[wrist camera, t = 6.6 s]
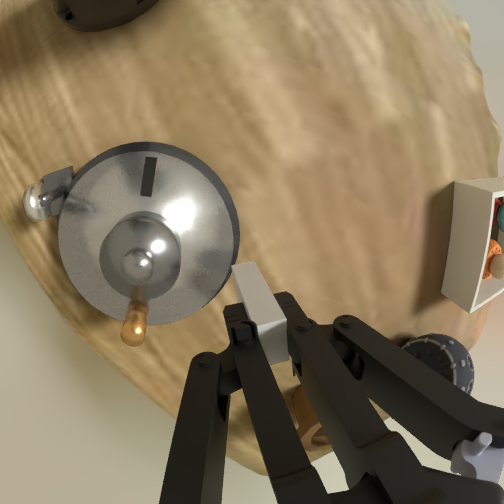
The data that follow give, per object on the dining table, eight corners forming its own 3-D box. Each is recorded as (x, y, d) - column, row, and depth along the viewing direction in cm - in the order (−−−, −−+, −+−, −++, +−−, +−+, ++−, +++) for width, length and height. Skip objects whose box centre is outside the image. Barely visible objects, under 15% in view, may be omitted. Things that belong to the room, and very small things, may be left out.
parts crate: (454, 180, 39) (492, 192, 31) (505, 176, 43) (534, 185, 34) (440, 292, 48) (469, 313, 40) (493, 265, 52) (518, 279, 43)
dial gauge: (46, 175, 26) (14, 185, 19) (72, 165, 27) (43, 173, 20) (55, 214, 28) (27, 233, 21) (81, 206, 29) (56, 223, 22)
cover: (100, 220, 26) (83, 237, 21) (172, 203, 27) (168, 216, 22) (121, 287, 29) (111, 315, 24) (188, 273, 31) (189, 299, 26)
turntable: (69, 144, 24) (41, 146, 18) (247, 166, 29) (263, 172, 23) (68, 306, 30) (51, 336, 24) (216, 325, 36) (223, 358, 30)
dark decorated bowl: (362, 387, 53) (408, 453, 35) (415, 312, 48) (481, 372, 30) (390, 386, 57) (433, 443, 38) (438, 319, 51) (496, 370, 33)
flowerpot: (361, 376, 51) (437, 484, 24) (314, 418, 53) (369, 526, 26) (318, 357, 46) (406, 501, 18) (266, 406, 48) (319, 543, 21)
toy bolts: (476, 279, 51) (512, 302, 40) (448, 258, 45) (494, 285, 34) (503, 213, 47) (541, 230, 35) (480, 179, 41) (528, 194, 29)
